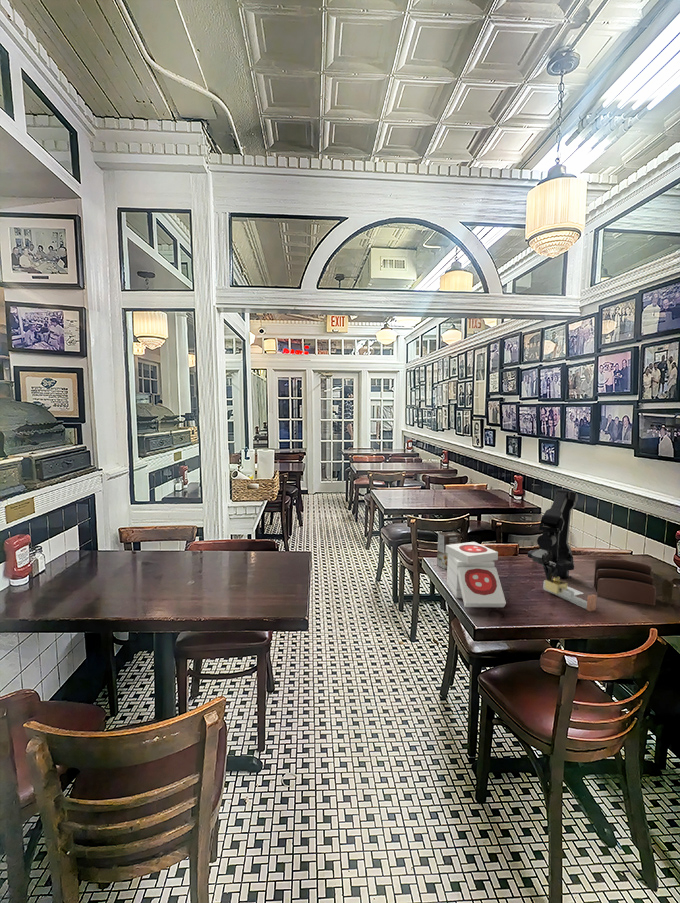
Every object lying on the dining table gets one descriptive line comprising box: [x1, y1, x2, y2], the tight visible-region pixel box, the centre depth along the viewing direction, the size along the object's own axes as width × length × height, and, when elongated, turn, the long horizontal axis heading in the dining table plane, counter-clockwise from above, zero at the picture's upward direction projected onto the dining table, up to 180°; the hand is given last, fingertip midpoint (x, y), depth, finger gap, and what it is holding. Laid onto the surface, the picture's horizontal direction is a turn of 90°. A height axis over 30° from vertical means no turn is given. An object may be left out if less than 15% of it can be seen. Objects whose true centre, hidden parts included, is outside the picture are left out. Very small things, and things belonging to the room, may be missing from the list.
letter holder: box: [593, 558, 657, 607], centre depth 175 cm, size 10×20×14 cm, turn 66°
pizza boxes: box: [445, 541, 507, 608], centre depth 173 cm, size 19×30×18 cm, turn 0°
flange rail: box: [542, 579, 597, 612], centre depth 170 cm, size 11×22×6 cm, turn 23°
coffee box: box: [436, 531, 462, 570], centre depth 207 cm, size 9×6×16 cm
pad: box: [567, 585, 585, 596], centre depth 180 cm, size 9×9×1 cm
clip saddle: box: [545, 576, 569, 594], centre depth 176 cm, size 6×6×6 cm
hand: (548, 579), depth 179 cm, fingers closed
